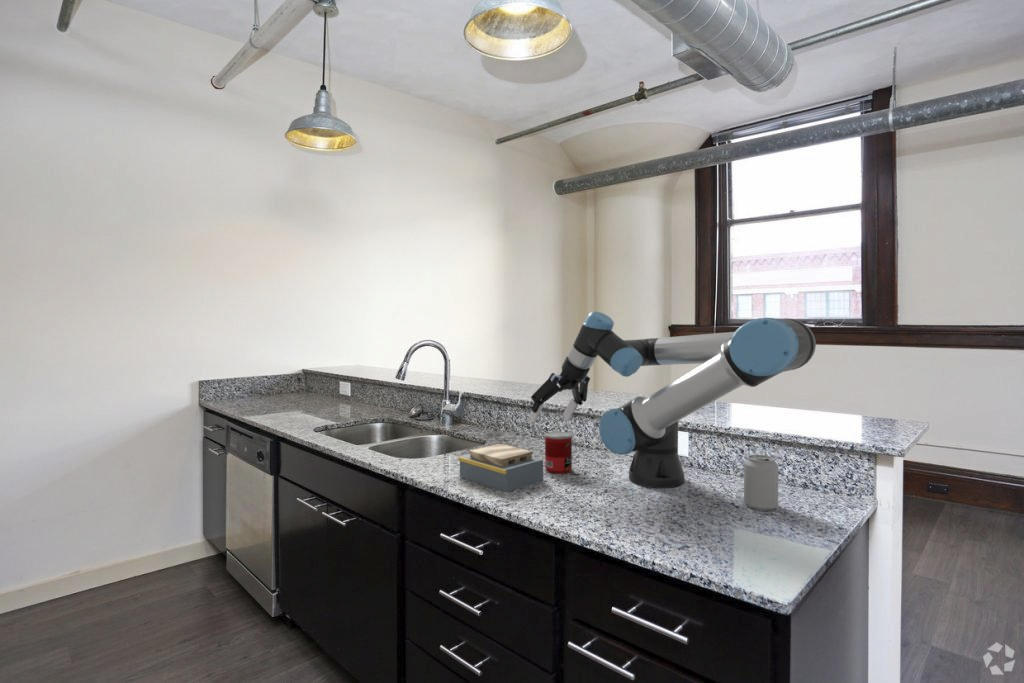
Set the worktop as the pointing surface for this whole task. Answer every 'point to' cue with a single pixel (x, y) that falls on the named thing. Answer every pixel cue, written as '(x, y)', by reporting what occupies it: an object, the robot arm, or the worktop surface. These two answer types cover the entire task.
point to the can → (761, 482)
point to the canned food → (558, 452)
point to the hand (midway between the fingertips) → (549, 418)
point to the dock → (502, 473)
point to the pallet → (500, 454)
